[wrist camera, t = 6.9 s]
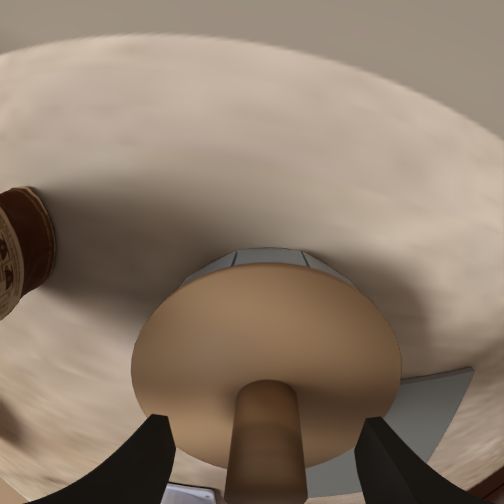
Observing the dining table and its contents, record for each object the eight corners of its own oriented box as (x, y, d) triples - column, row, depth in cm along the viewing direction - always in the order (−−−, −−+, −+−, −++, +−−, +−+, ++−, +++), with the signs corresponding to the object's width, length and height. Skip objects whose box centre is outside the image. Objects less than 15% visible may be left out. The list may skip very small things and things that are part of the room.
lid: (372, 450, 14) (396, 528, 8) (169, 458, 14) (146, 534, 9) (411, 252, 11) (505, 315, 5) (110, 269, 11) (19, 336, 6)
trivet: (413, 476, 20) (414, 479, 19) (270, 495, 20) (270, 499, 20) (471, 366, 16) (474, 370, 16) (282, 387, 17) (282, 393, 16)
